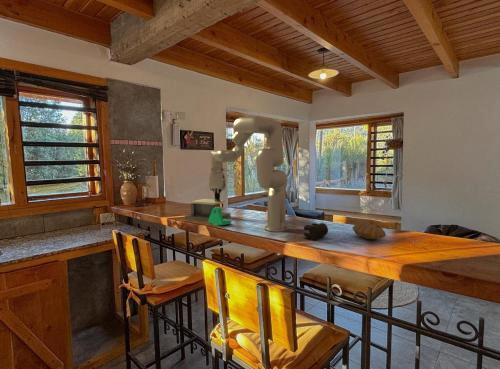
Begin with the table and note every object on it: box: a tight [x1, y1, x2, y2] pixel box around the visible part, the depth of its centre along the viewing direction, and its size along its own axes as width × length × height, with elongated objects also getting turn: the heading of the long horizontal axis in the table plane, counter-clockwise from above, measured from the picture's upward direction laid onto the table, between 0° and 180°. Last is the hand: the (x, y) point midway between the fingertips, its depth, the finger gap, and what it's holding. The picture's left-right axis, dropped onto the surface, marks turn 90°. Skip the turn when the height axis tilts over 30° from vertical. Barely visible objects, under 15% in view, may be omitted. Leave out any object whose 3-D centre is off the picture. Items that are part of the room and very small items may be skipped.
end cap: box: [303, 222, 329, 241], centre depth 130 cm, size 10×7×7 cm
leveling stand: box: [184, 202, 231, 222], centre depth 183 cm, size 22×20×10 cm
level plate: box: [190, 198, 226, 206], centre depth 182 cm, size 17×14×2 cm
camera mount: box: [207, 206, 232, 227], centre depth 162 cm, size 12×8×10 cm, turn 47°
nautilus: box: [352, 220, 387, 241], centre depth 131 cm, size 8×22×15 cm
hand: (217, 199), depth 179 cm, fingers closed
